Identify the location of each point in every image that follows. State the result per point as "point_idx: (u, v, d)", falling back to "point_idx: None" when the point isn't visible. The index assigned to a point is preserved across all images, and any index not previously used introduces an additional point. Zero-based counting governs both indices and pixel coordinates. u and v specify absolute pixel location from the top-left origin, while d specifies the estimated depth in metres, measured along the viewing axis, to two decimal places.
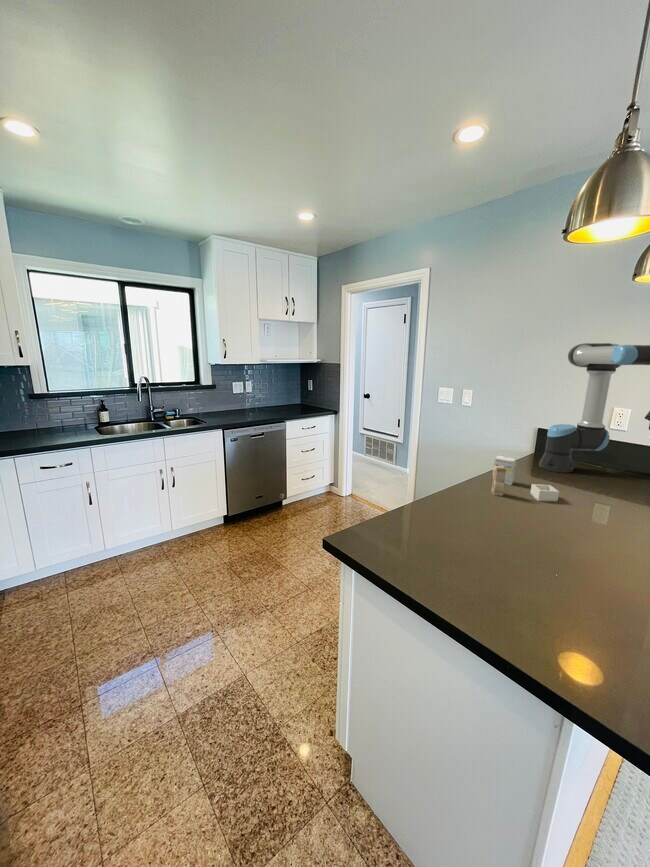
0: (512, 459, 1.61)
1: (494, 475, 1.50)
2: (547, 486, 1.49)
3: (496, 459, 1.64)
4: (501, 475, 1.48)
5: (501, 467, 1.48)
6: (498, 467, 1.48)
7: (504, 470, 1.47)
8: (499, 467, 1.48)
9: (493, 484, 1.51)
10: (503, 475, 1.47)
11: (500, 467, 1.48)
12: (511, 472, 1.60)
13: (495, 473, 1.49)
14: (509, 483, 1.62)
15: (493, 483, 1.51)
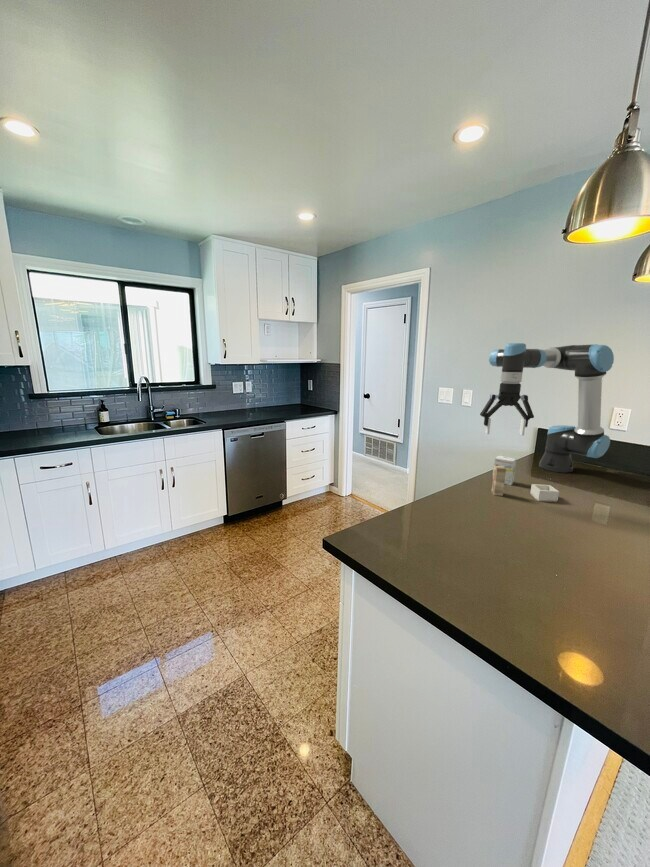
0: (512, 459, 1.61)
1: (494, 475, 1.50)
2: (547, 486, 1.49)
3: (496, 459, 1.64)
4: (501, 475, 1.48)
5: (501, 467, 1.48)
6: (498, 467, 1.48)
7: (504, 470, 1.47)
8: (499, 467, 1.48)
9: (493, 484, 1.51)
10: (503, 475, 1.47)
11: (500, 467, 1.48)
12: (511, 472, 1.60)
13: (495, 473, 1.49)
14: (509, 483, 1.62)
15: (493, 483, 1.51)
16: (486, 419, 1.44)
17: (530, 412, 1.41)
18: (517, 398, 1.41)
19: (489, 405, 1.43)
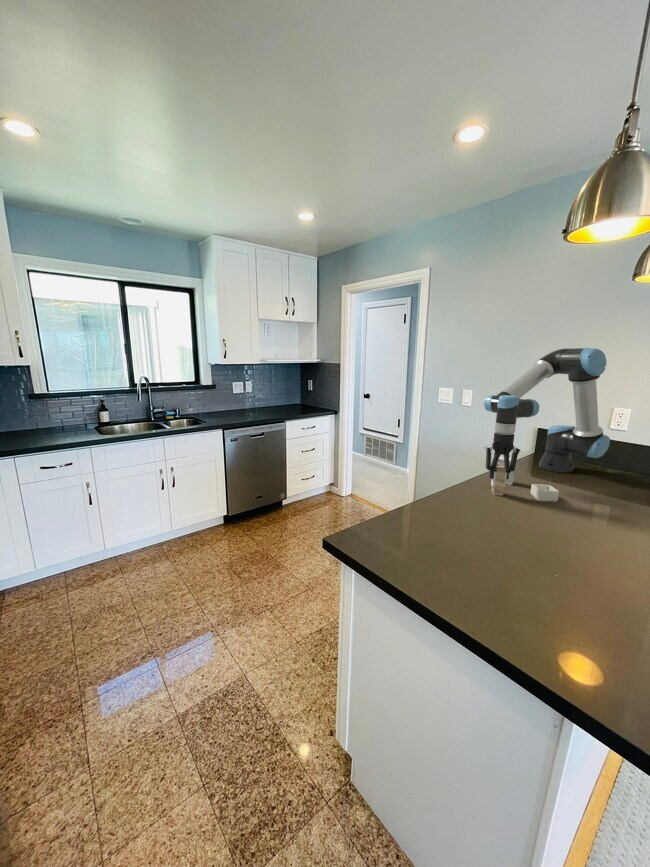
0: None
1: None
2: (547, 486, 1.49)
3: None
4: (501, 475, 1.48)
5: (501, 467, 1.48)
6: (498, 467, 1.48)
7: (504, 470, 1.47)
8: (499, 467, 1.48)
9: None
10: (503, 475, 1.47)
11: (500, 467, 1.48)
12: (511, 472, 1.60)
13: None
14: (509, 483, 1.62)
15: None
16: (492, 472, 1.49)
17: (513, 465, 1.47)
18: (510, 447, 1.45)
19: (489, 458, 1.47)
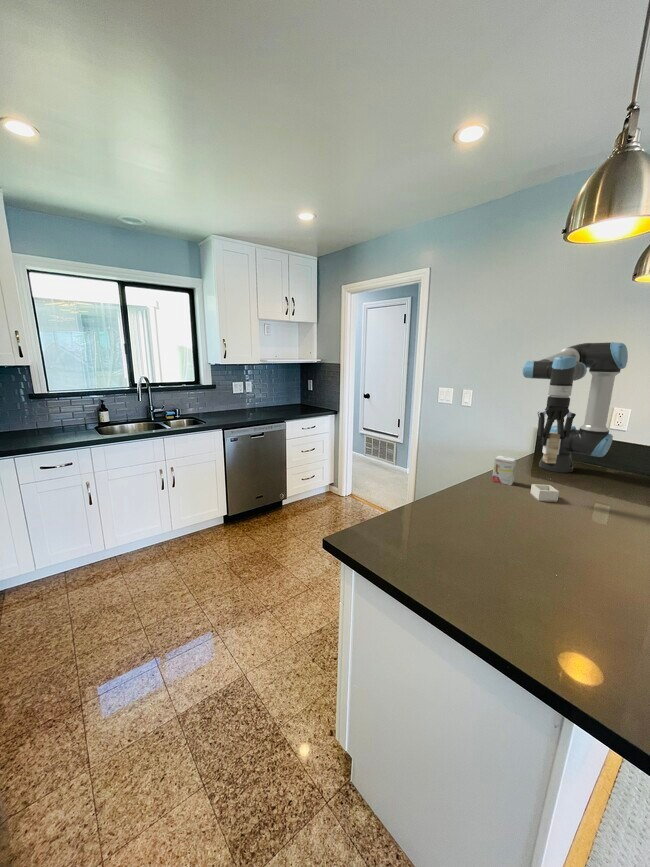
0: (512, 459, 1.61)
1: None
2: (547, 486, 1.49)
3: (496, 459, 1.64)
4: (555, 442, 1.40)
5: (554, 433, 1.41)
6: (551, 433, 1.41)
7: (558, 436, 1.39)
8: (552, 433, 1.41)
9: None
10: (557, 441, 1.40)
11: (554, 433, 1.41)
12: (511, 472, 1.60)
13: None
14: (509, 483, 1.62)
15: None
16: (544, 439, 1.41)
17: (568, 431, 1.39)
18: (565, 412, 1.38)
19: (542, 424, 1.40)
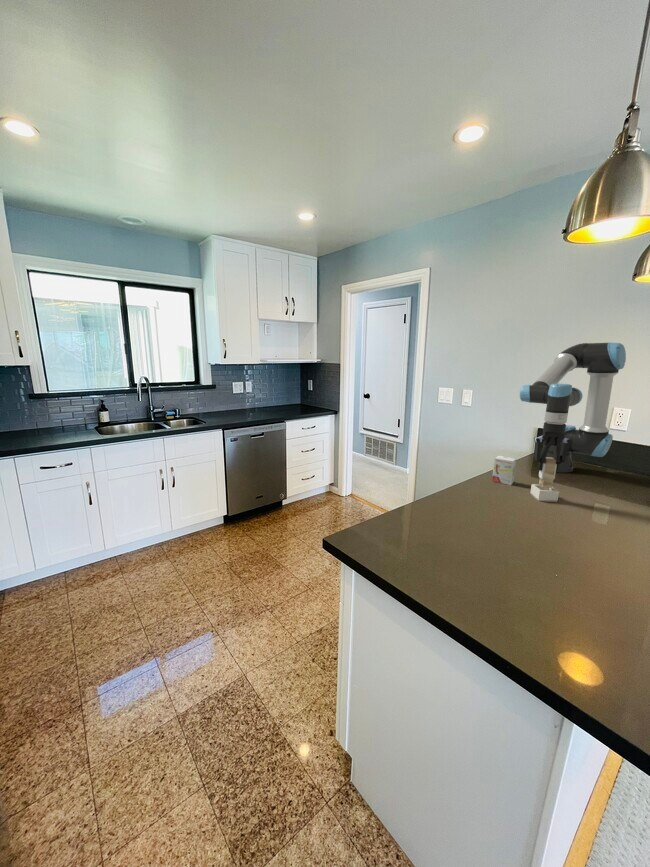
0: (512, 459, 1.61)
1: None
2: None
3: (496, 459, 1.64)
4: (551, 467, 1.42)
5: (550, 458, 1.43)
6: (547, 458, 1.43)
7: (554, 461, 1.42)
8: (548, 458, 1.43)
9: None
10: (553, 467, 1.42)
11: (550, 458, 1.43)
12: (511, 472, 1.60)
13: None
14: (509, 483, 1.62)
15: None
16: (541, 464, 1.44)
17: (564, 456, 1.41)
18: (561, 438, 1.40)
19: (538, 449, 1.42)
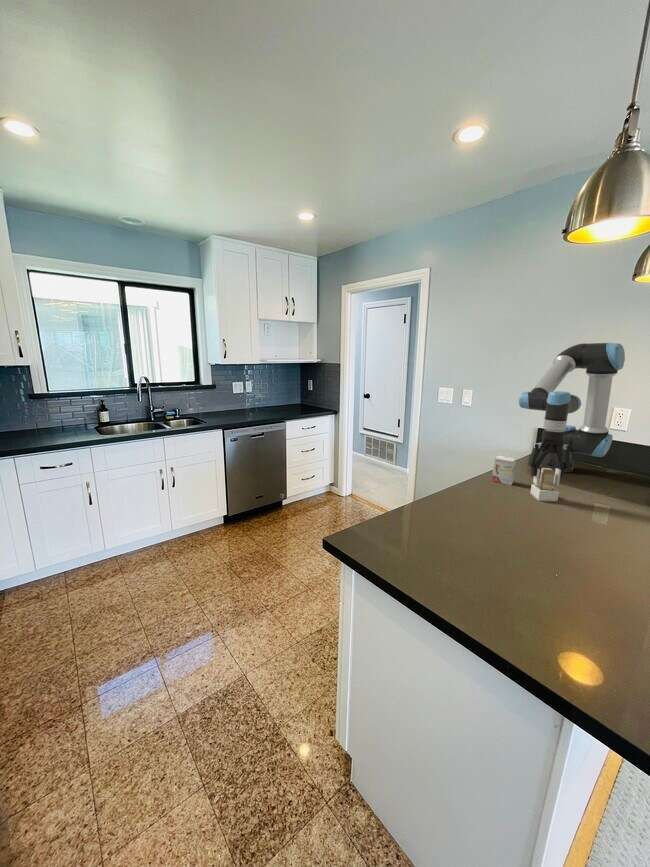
0: (512, 459, 1.61)
1: (541, 477, 1.46)
2: None
3: (496, 459, 1.64)
4: (550, 478, 1.43)
5: (549, 469, 1.44)
6: (546, 469, 1.44)
7: (553, 472, 1.43)
8: (547, 469, 1.44)
9: (540, 487, 1.47)
10: (551, 477, 1.43)
11: (548, 469, 1.44)
12: (511, 472, 1.60)
13: (543, 475, 1.45)
14: (509, 483, 1.62)
15: (540, 485, 1.47)
16: (535, 469, 1.44)
17: (567, 462, 1.42)
18: (560, 445, 1.41)
19: (535, 455, 1.43)
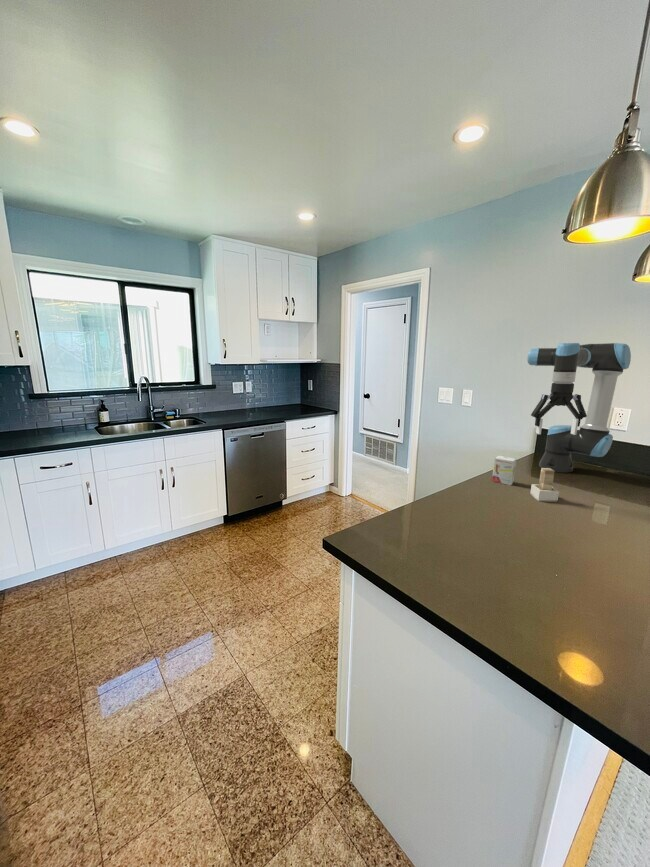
0: (512, 459, 1.61)
1: (541, 477, 1.46)
2: None
3: (496, 459, 1.64)
4: (550, 478, 1.43)
5: (549, 469, 1.44)
6: (546, 469, 1.44)
7: (552, 472, 1.43)
8: (547, 469, 1.44)
9: (540, 487, 1.47)
10: (551, 477, 1.43)
11: (548, 469, 1.44)
12: (511, 472, 1.60)
13: (542, 475, 1.45)
14: (509, 483, 1.62)
15: (540, 486, 1.47)
16: (538, 419, 1.44)
17: (583, 411, 1.41)
18: (570, 398, 1.40)
19: (541, 405, 1.42)
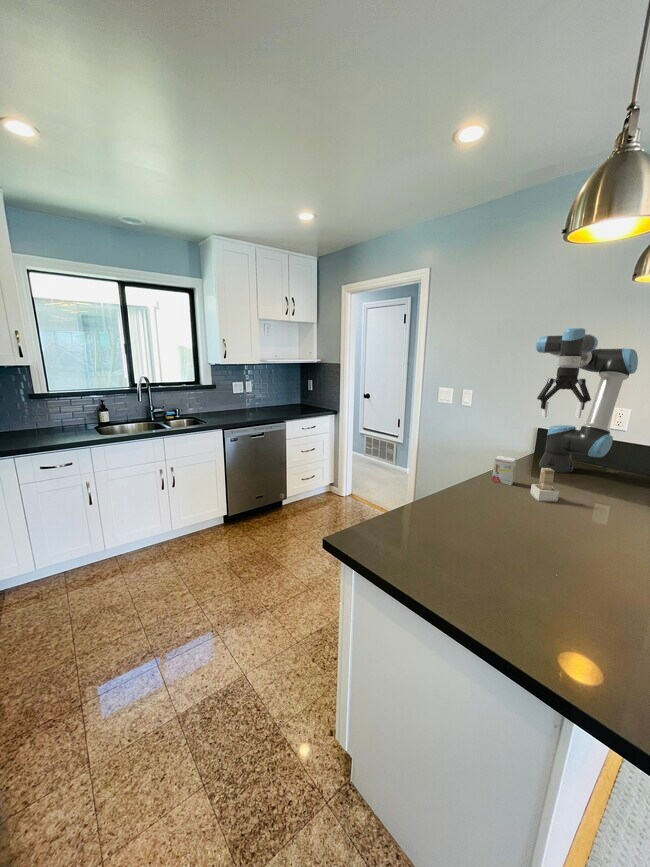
0: (512, 459, 1.61)
1: (541, 477, 1.46)
2: None
3: (496, 459, 1.64)
4: (550, 478, 1.43)
5: (549, 469, 1.44)
6: (546, 469, 1.44)
7: (552, 472, 1.43)
8: (547, 469, 1.44)
9: (540, 487, 1.47)
10: (551, 477, 1.43)
11: (548, 469, 1.44)
12: (511, 472, 1.60)
13: (542, 475, 1.45)
14: (509, 483, 1.62)
15: (540, 486, 1.47)
16: (543, 402, 1.50)
17: (587, 395, 1.47)
18: (575, 382, 1.46)
19: (547, 389, 1.48)
